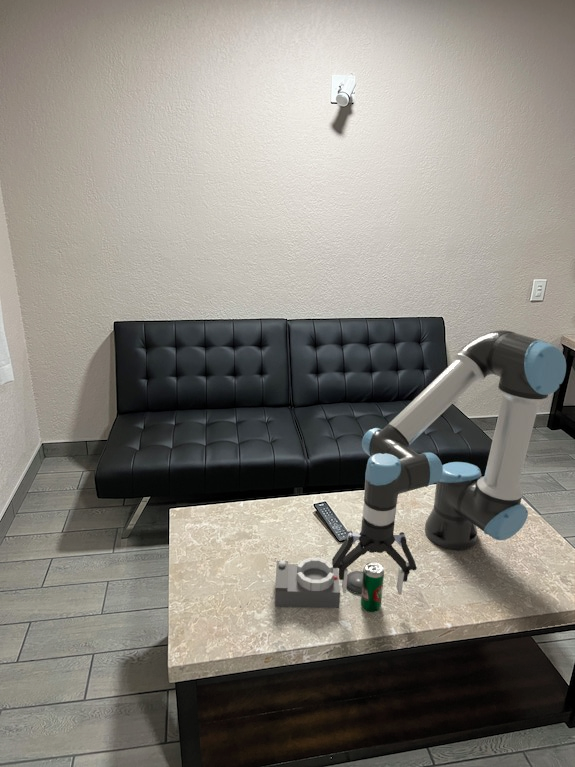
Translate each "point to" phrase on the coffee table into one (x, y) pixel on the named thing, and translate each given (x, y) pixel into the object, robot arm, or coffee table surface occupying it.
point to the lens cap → (355, 581)
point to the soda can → (372, 586)
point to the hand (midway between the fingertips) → (371, 589)
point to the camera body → (307, 584)
